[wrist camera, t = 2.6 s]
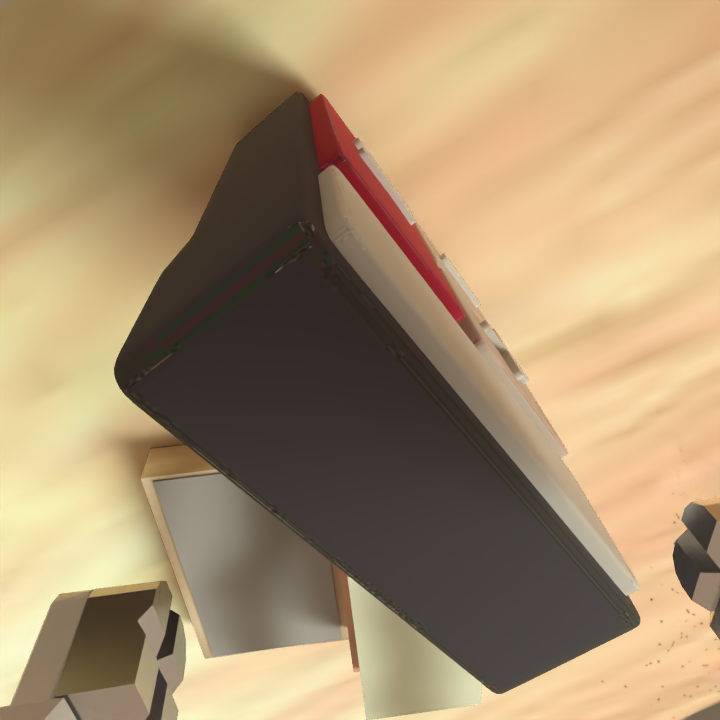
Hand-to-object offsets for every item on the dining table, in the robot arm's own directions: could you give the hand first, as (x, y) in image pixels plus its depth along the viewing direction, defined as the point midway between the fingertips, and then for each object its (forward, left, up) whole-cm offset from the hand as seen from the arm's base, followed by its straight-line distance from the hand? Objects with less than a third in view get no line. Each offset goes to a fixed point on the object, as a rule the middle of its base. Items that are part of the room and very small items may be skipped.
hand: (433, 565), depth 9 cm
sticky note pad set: (+3, +15, -16) cm, 22 cm away
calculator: (0, 0, -16) cm, 16 cm away
